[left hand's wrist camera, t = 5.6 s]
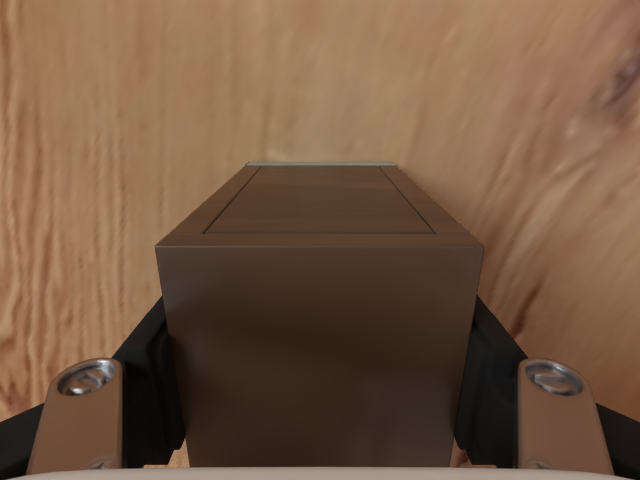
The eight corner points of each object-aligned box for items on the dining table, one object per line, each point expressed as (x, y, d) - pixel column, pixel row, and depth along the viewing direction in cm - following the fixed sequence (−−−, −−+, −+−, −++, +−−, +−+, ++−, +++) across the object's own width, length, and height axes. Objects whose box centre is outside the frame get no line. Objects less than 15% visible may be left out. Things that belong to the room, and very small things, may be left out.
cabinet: (374, 442, 23) (413, 696, 13) (265, 442, 23) (225, 695, 13) (392, 162, 18) (486, 245, 8) (248, 162, 18) (152, 245, 8)
